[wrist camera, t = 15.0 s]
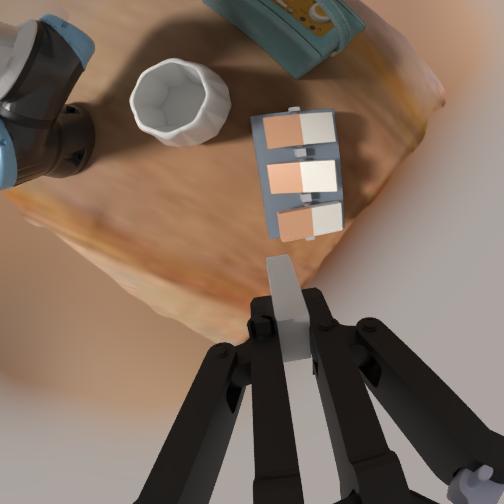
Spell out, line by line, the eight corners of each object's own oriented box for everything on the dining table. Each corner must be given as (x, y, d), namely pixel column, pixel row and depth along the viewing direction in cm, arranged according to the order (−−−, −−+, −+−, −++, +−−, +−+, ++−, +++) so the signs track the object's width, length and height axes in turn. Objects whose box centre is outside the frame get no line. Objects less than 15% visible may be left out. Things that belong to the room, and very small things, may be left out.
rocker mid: (275, 192, 43) (271, 196, 41) (271, 160, 41) (266, 162, 39) (338, 190, 39) (337, 193, 37) (335, 156, 37) (334, 157, 35)
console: (267, 229, 51) (270, 246, 44) (249, 116, 43) (250, 112, 35) (336, 219, 50) (350, 233, 43) (325, 108, 42) (339, 104, 35)
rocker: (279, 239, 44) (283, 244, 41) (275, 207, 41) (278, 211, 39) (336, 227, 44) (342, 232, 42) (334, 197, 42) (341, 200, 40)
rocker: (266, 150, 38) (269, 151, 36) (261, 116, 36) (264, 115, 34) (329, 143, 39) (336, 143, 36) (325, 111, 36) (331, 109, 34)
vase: (246, 87, 40) (246, 66, 27) (211, 158, 45) (196, 168, 32) (173, 61, 38) (145, 35, 24) (141, 131, 43) (101, 132, 29)
